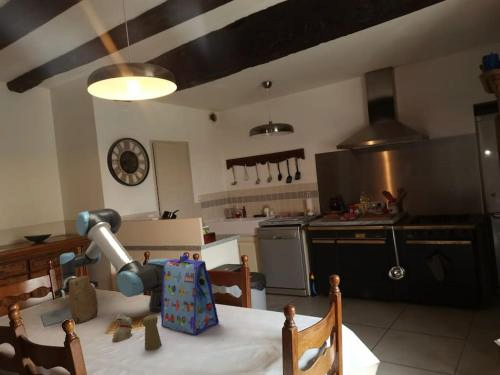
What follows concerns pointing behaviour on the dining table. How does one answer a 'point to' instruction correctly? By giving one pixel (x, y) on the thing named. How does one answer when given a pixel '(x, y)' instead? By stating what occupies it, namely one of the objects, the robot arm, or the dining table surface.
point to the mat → (56, 316)
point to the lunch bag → (187, 296)
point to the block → (82, 299)
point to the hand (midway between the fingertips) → (79, 291)
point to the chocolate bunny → (122, 328)
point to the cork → (151, 333)
